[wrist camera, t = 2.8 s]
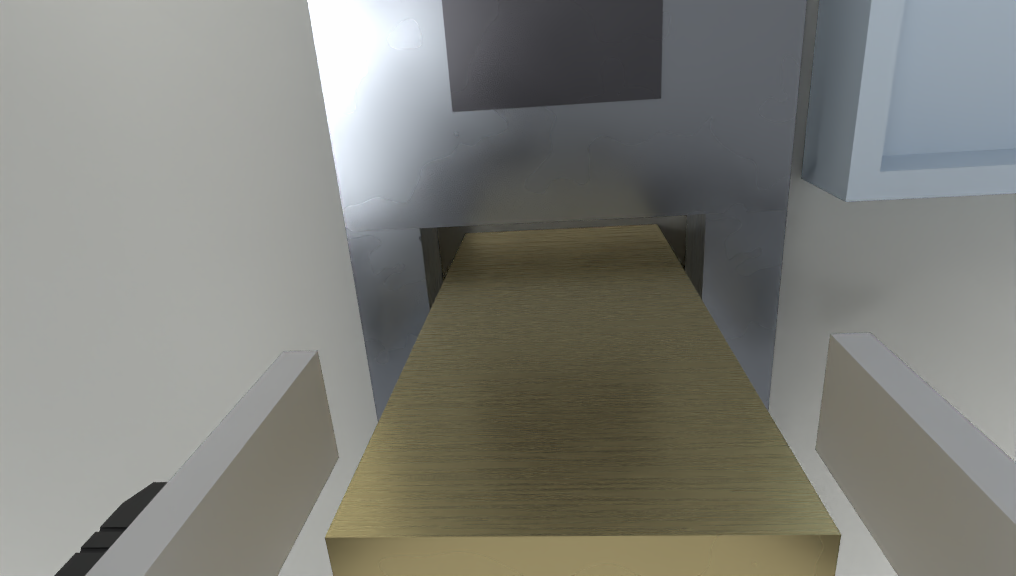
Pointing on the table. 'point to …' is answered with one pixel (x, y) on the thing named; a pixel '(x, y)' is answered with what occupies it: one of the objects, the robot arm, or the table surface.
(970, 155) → the tray
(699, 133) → the grey slotted plate
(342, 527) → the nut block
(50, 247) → the table surface
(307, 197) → the table surface
